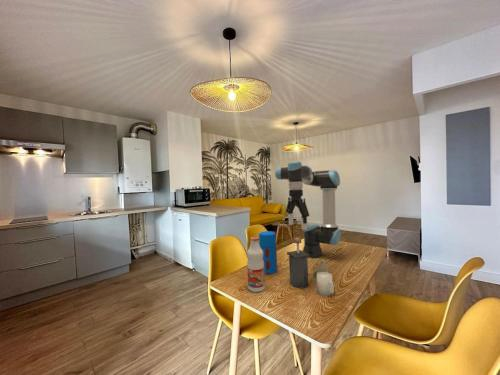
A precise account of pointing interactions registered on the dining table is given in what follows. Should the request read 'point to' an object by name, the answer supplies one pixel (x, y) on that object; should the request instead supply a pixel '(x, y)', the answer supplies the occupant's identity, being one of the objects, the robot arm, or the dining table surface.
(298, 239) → the plunger
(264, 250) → the thermos
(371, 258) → the dining table surface
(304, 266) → the press body
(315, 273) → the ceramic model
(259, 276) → the fruit juice
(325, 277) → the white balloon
